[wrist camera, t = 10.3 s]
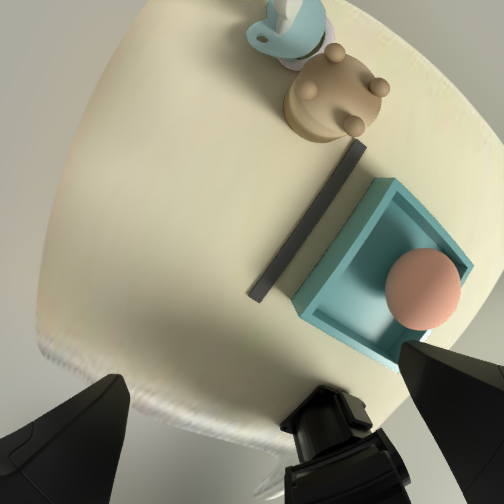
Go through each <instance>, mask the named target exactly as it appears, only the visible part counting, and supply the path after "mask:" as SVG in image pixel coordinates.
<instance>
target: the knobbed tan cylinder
mask: <svg viewBox="0 0 504 504" xmlns="http://www.w3.org/2000/svg"><path fill="white" fill-rule="evenodd" d="M389 91H390V86H389V84H388V82H387V81H386V80H385V79H383V78H375V77H374V75H373V74H372V72H371V71H370V70H369V69H368V68H367V67H366V66H365V65H364V64H363V63H362V62H360V61H359V60H357V59H356V58H354V57H352V56H350V55H347V54H345V49H344V48H343V47H342V46H341V45H340V44H337V43H330V44H328V45H327V46H326V47H325V49H324V53H320V54H317V55H315V56H313V57H312V58H310V59H309V60H308V61H307V62H306V63H305V65H304V66H303V67H302V69H301V71H300V72H299V74H298V75H297V77H296V79H295V80H294V82H293V83H292V85H291V87H290V88H289V90H288V92H287V93H286V96H285V98H284V103H283V110H284V115H285V118H286V120H287V122H288V124H289V126H290V127H291V128H292V130H293V131H294V132H295V133H297V134H298V135H299V136H301V137H302V138H304V139H306V140H308V141H311V142H316V143H326V142H330V141H333V140H336V139H338V138H341V137H343V136H346V135H349V136H352V137H358V136H360V135H362V134H363V132H364V130H365V128H366V127H367V126H369V125H370V124H371V123H372V122H373V121H374V120H375V119H376V118H377V116H378V114H379V111H380V108H381V97H385V96H387V95H388V93H389Z"/></svg>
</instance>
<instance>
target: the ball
mask: <svg viewBox="0 0 504 504" xmlns="http://www.w3.org/2000/svg"><path fill="white" fill-rule="evenodd" d="M460 293H461V282H460V277H459V274H458V271H457V269H456V267H455V265H454V263H453V262H452V261H451V260H450V259H449V258H448V257H447V256H446V255H445V254H443V253H442V252H440V251H438V250H435V249H431V248H418V249H414V250H411V251H409V252H407V253H405V254H403V255H402V256H401V257H400V258H399V259H398V260H397V261H396V262H395V263H394V264H393V266H392V267H391V269H390V271H389V273H388V276H387V279H386V284H385V298H386V302H387V306H388V308H389V310H390V312H391V314H392V315H393V317H394V318H395V319H396V320H397V321H398V322H399V323H400V324H402V325H403V326H405V327H407V328H410V329H413V330H423V331H424V330H430V329H433V328H436V327H438V326H440V325H441V324H443V323H444V322H445V321H447V320H448V319H449V318H450V316H451V315H452V314H453V312H454V311H455V309H456V307H457V305H458V302H459V298H460Z"/></svg>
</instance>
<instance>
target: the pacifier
mask: <svg viewBox="0 0 504 504" xmlns="http://www.w3.org/2000/svg"><path fill="white" fill-rule="evenodd" d="M246 36H247V41H248V43H249V44H250V45H251V46H252V47H253V48H255V49H256V50H258V51H260V52H262V53H264V54H267V55H269V56H272V57H277V59H278V60H279V61H280V63H281V64H282V65H284V66H285V67H286V68H288V69H291V70H294V71H301V69H302V67H303V66H304V65H305V63H306V62H307V61H308V60H309V59H310V58H312V57H313V56H315V55H317V54H320V53H324V49H325V47H326V46H327V45H328V44H330V43H334V39H335V35H334V28H333V26H332V24H331V22H330V21H329V20H328V18H327V17H326V11H325V8H324V6H323V4H322V2H321V1H320V0H269V1H268V4H267V18H266V19H264V20H260V21H258V22H256V23H254V24H253V25H251V26H250V27H249V29H248V30H247V34H246ZM259 36H262V37H265V38H266V39H267V40H268V42H265V43H263V42H260V41H258V40H257V37H259ZM322 36H323V43H322V45H321V47H320V49H319V51H317V52H316V53H315V54H314V55H312V56H311V57H309V58H305V59H296V58H300V57H303V56H305V55H307V54H308V53H310V52H311V51H312V50H313V49H314V48H315V47H316V46H317V45H318V43H319V42H320V40H321V38H322Z"/></svg>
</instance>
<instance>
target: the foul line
mask: <svg viewBox="0 0 504 504" xmlns="http://www.w3.org/2000/svg"><path fill="white" fill-rule="evenodd" d="M366 148H367V147H366V146H365V145H364V144H362V143H361V142H360V141H359V140H358V139H356V140H355V141H354V143H353V144H352V146H351V147H350V149H349V150H348V152H347V153H346V155H345V156H344V158H343V159H342V161H341V162H340V164H339V165H338V167H337V168H336V170H335V171H334V173H333V174H332V176H331V177H330V179H329V180H328V182H327V183H326V185H325V186H324V188H323V189H322V191H321V192H320V194H319V195H318V196H317V198H316V199H315V201H314V202H313V204H312V205H311V207H310V208H309V210H308V211H307V213H306V214H305V216H304V217H303V218H302V220H301V221H300V223H299V224H298V226H297V227H296V229H295V230H294V231H293V233H292V234H291V236H290V237H289V239H288V240H287V242H286V243H285V244H284V246H283V247H282V249H281V250H280V252H279V253H278V254H277V256H276V257H275V259H274V260H273V262H272V263H271V264H270V266H269V267H268V269H267V270H266V272H265V273H264V274H263V276H262V277H261V279H260V280H259V281H258V283H257V284H256V286H255V287H254V288H253V290H252V291H251V293H250V294H249V295H248V297H250V298H252V299H253V300H255V301H257V302H258V303H260V302H261V301H262V300H263V298H264V297H265V296H266V294H267V293H268V291H269V290H270V289H271V287H272V286H273V285H274V283H275V282H276V280H277V279H278V278H279V276H280V275H281V273H282V272H283V271H284V269H285V268H286V266H287V265H288V264H289V262H290V261H291V259H292V258H293V257H294V255H295V254H296V252H297V251H298V250H299V248H300V247H301V245H302V244H303V242H304V241H305V239H306V238H307V237H308V235H309V234H310V232H311V231H312V229H313V228H314V226H315V225H316V224H317V222H318V221H319V219H320V218H321V216H322V215H323V213H324V212H325V210H326V209H327V207H328V206H329V204H330V203H331V202H332V200H333V199H334V197H335V196H336V194H337V193H338V191H339V190H340V188H341V187H342V185H343V184H344V182H345V181H346V179H347V178H348V176H349V174H350V173H351V171H352V170H353V168H354V167H355V165H356V164H357V162H358V161H359V159H360V158H361V156H362V155H363V153H364V151H365V150H366Z"/></svg>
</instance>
